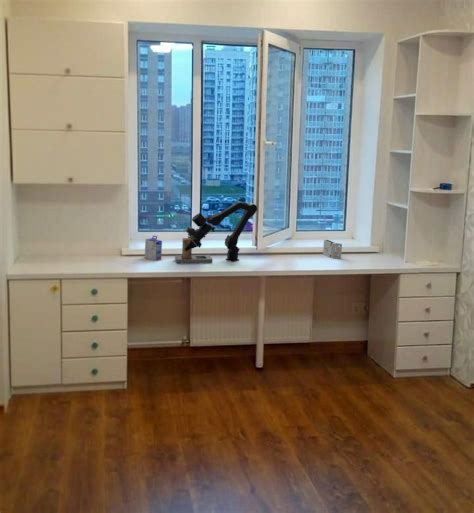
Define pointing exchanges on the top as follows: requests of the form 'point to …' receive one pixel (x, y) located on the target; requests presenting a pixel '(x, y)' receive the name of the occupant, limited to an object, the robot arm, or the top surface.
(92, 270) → the top surface
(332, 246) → the hinge
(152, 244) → the ink cartridge box
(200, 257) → the grey flat block
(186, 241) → the walnut peg
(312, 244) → the top surface
